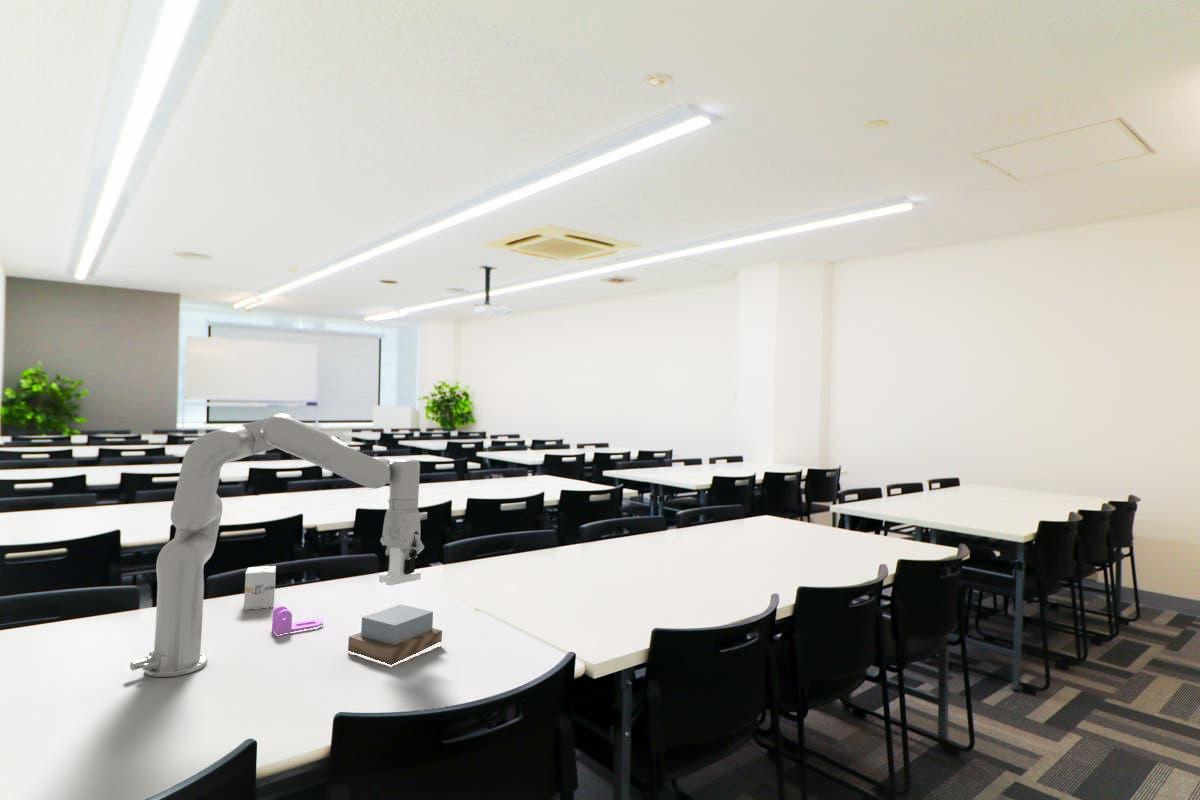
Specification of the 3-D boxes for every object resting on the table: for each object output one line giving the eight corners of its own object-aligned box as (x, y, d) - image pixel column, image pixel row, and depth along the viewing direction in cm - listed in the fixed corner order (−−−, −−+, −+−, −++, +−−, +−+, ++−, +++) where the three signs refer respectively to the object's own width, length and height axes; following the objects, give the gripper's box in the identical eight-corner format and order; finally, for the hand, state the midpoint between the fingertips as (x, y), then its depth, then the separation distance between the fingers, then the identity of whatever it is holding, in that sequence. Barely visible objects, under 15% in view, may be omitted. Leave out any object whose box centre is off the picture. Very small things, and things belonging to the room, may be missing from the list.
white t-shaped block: (378, 581, 170) (380, 544, 170) (410, 575, 178) (411, 539, 178) (389, 585, 167) (391, 547, 167) (421, 579, 174) (423, 542, 175)
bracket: (276, 636, 178) (278, 611, 178) (271, 631, 182) (273, 606, 183) (325, 628, 186) (326, 604, 187) (319, 623, 191) (320, 599, 191)
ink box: (245, 602, 206) (247, 566, 206) (274, 600, 210) (276, 564, 210) (242, 610, 198) (245, 573, 199) (273, 608, 202) (275, 571, 202)
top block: (394, 645, 164) (395, 625, 164) (361, 636, 169) (361, 617, 169) (432, 630, 176) (433, 611, 176) (400, 622, 182) (400, 604, 182)
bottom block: (390, 670, 160) (391, 650, 160) (347, 655, 168) (348, 636, 168) (441, 648, 176) (442, 630, 176) (399, 636, 184) (400, 619, 184)
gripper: (370, 502, 174) (366, 569, 173) (416, 509, 165) (413, 579, 165) (391, 500, 180) (388, 564, 180) (437, 506, 172) (434, 573, 171)
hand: (400, 570), depth 172 cm, fingers closed on white t-shaped block, 5 cm apart
